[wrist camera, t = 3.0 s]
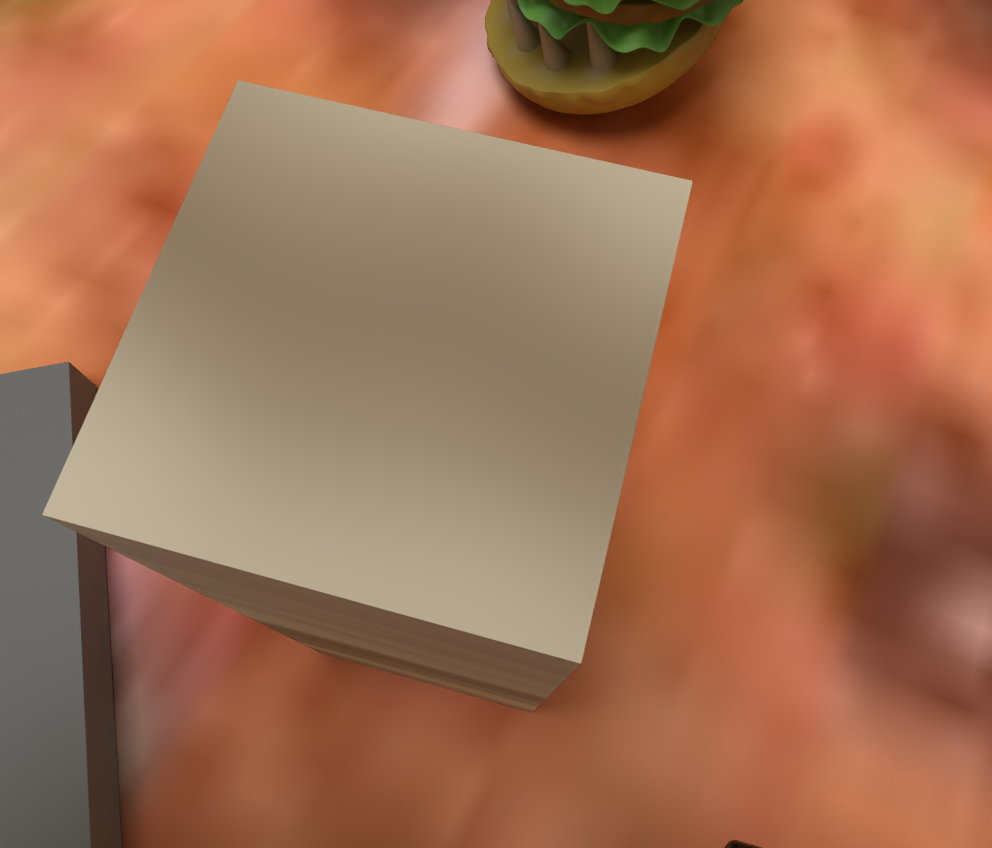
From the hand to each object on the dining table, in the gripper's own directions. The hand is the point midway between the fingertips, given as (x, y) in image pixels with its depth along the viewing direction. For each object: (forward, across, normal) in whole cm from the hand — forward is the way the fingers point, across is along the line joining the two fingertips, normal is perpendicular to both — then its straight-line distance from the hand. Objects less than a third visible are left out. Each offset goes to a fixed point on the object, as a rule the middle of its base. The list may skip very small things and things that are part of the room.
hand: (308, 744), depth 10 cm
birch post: (+10, 0, +5) cm, 11 cm away
